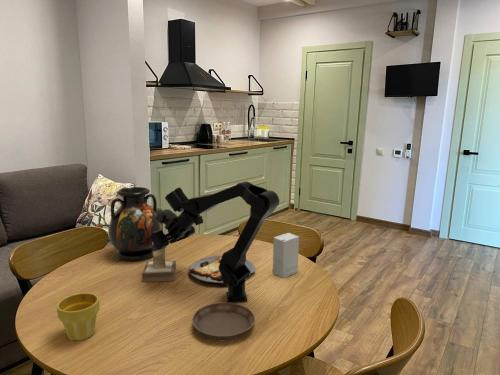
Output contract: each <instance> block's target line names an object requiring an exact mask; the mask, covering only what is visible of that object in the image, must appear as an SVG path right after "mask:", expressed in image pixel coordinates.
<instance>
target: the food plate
mask: <svg viewBox="0 0 500 375" xmlns="http://www.w3.org/2000/svg"><path fill="white" fill-rule="evenodd" d="M222 255H223V254H221V255H213V256H206V257H203V258H200V259H199V260H197V261H195V262H193V263H192V264H190V265H189V267H188V274H190V276H191V277H193V278H195V279H197V280H199V281H201V282H204V283H215V284H224V283H223V279H222V276H221V273H220V270H219V264H220V263H218V262H219V261H220V260H221V258H222ZM245 265H246V266H247V268H248V269H249V270H250V272H251V273H250V275H251V274H252V273H255V272H256V267H255V266H254V263H252V262H251V261H249V260H248V259H246V262H245Z"/></svg>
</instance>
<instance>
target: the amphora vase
mask: <svg viewBox="0 0 500 375" xmlns="http://www.w3.org/2000/svg"><path fill="white" fill-rule="evenodd" d="M150 192H151V191H150V189H149V188H147V187H141V186H139V187H138V186H133V187H132V186H131V187H125V188H119V190H117V191H116V194H117V195H118V196H120V197H121V198H122V199H121V198H119V197H117V198H114V199H112V201H111V202H110V221H109V224H108V231H107V235H108V239H109V241H110V244H111V245H112V246H113V247H114V248H115V249H116V252H115V255H116V257H117V258H118V259H120V260H123V261H129V262H134V261H135V262H136V261H137V262H138V261H142V260H147V259H149V258H151V257H153V251H152V246H153V243H152V241H151V239H150V238H149V235H150V234H151V233H152V232H154V231H157V230H162V229H163V226H162V223H160V222H158V221H157V220H156V217H157V216H156V215H158V211H157V210H158V207H157V206H158V205H157V204H158V203H157V198H156V196H155V195H154V194H152V193H150ZM149 198H151V199H152V207H151V206H150V205H149V204H148V200H149ZM118 202H119V203H120V205H119V208H118V209H117V210H116V211H115V205H116V203H118ZM162 231H163V230H162Z"/></svg>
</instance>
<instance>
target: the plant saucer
mask: <svg viewBox="0 0 500 375" xmlns="http://www.w3.org/2000/svg"><path fill="white" fill-rule="evenodd" d="M191 320H192V325H193V327H194V328H195V330H197V332H199V334H201V335H202V336H203V337H205V338H207V339H209V340H212V341H217V342H218V341H220V342H221V341H222V342H227V341H232V340H233V341H234V340H237V339H238V338H240V337H243V336H244V335H245V334H246V333H248V331H250V329H251V328H252V327H253V326H254V323H255V320H256V319H255V314H254V313H253V312H252V311H251V310H250V308H247V307H246V306H243V305H241V304H238V303H235V302H216V303H211V304H207V305H205V306H203V307H200V308H199V309H197V311H196V312H195V313H194V314H193V315H192V319H191Z"/></svg>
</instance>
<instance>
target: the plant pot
mask: <svg viewBox="0 0 500 375" xmlns="http://www.w3.org/2000/svg"><path fill="white" fill-rule="evenodd" d="M99 312H100V297H99V296H98V294H95V293H92V292H77V293H73V294H70V295H68V296H65V297H64V298H62V299H61V300H59V301H58V302H57V305H56V314H57V318H58V320H59V321H61V322H62V325H63V327H64V330H65V333H66V335H67V338H68V339H69V340H70V339H72V340H71V341H73V340H80V341H83V340H82V339H84V340H87V339H88V337H89V338H90V337H92V336H93V335H94V333H95V331H96V330H95V329H96V323H97V315H98V314H99ZM92 334H93V335H92ZM91 335H92V336H91ZM86 338H87V339H86Z"/></svg>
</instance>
